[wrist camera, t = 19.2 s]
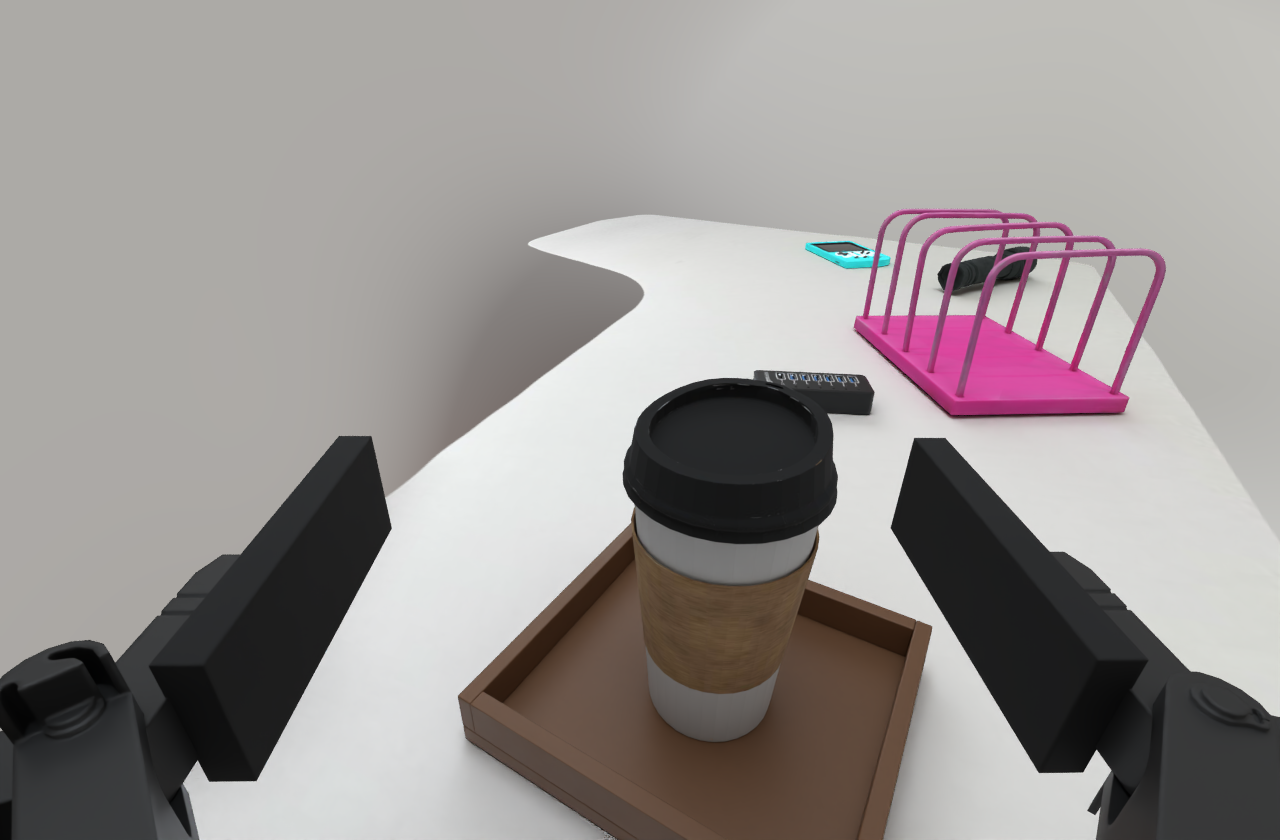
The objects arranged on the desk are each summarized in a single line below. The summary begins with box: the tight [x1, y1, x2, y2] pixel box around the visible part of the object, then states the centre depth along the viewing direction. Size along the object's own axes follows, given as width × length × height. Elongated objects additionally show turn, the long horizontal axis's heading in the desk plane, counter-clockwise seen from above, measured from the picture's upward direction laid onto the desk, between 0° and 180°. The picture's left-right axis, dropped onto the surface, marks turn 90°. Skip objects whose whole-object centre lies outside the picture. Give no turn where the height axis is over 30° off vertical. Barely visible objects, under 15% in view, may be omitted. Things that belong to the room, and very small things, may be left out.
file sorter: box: [854, 209, 1166, 415], centre depth 66 cm, size 17×25×16 cm
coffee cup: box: [623, 378, 838, 742], centre depth 27 cm, size 8×8×15 cm
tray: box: [458, 524, 932, 840], centre depth 30 cm, size 18×16×3 cm
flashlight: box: [937, 247, 1037, 291], centre depth 99 cm, size 5×21×5 cm, turn 123°
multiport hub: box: [753, 370, 874, 415], centre depth 60 cm, size 4×11×2 cm, turn 85°
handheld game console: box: [805, 241, 890, 268], centre depth 116 cm, size 10×16×1 cm, turn 13°
